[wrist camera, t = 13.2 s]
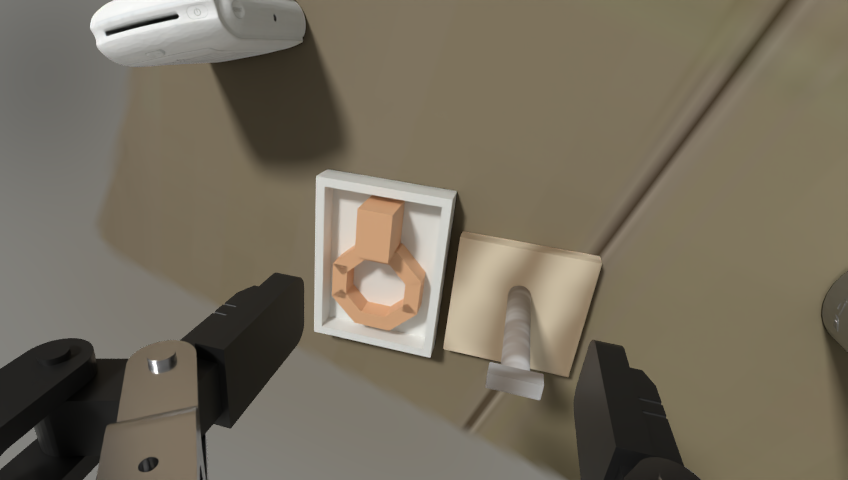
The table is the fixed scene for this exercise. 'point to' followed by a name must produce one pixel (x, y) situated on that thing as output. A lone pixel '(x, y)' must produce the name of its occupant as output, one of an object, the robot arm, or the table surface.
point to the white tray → (376, 281)
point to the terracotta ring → (384, 246)
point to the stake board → (546, 307)
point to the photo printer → (195, 30)
